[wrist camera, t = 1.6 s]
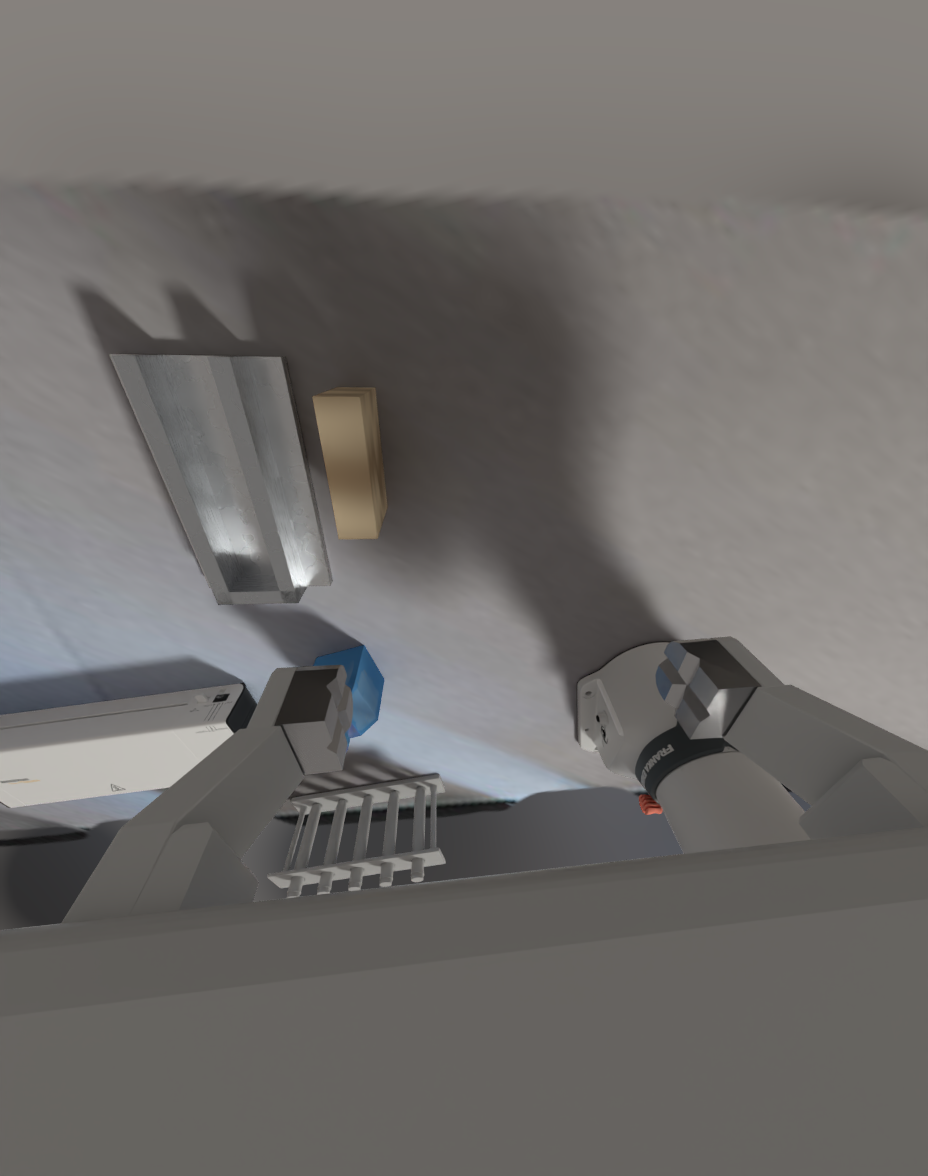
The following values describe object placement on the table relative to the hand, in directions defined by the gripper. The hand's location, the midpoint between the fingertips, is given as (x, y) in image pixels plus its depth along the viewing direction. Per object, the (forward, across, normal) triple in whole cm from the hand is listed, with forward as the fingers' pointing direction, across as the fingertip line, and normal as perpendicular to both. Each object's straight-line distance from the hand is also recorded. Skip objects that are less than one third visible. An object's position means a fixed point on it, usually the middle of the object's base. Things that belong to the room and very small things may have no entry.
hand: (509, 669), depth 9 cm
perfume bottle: (+27, +13, +27) cm, 41 cm away
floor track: (+28, +18, +4) cm, 33 cm away
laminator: (+28, +42, +35) cm, 62 cm away
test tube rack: (+27, +15, +56) cm, 64 cm away
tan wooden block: (+27, +7, +1) cm, 28 cm away
